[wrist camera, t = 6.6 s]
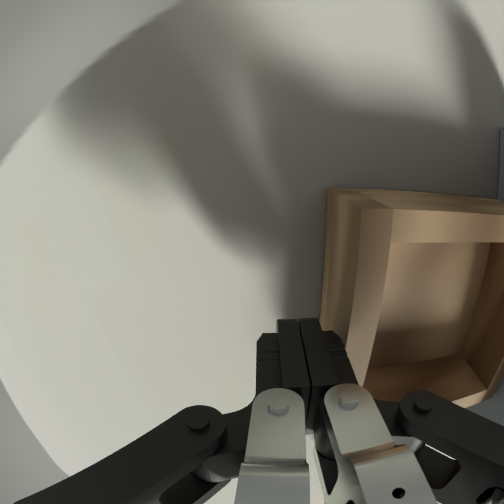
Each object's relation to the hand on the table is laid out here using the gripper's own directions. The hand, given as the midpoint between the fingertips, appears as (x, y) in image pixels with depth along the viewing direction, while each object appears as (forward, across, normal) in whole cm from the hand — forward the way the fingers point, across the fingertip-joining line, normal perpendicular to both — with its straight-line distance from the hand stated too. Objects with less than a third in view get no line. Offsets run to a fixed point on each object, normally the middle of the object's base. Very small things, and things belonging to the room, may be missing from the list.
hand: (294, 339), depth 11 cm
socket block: (+3, -7, 0) cm, 7 cm away
